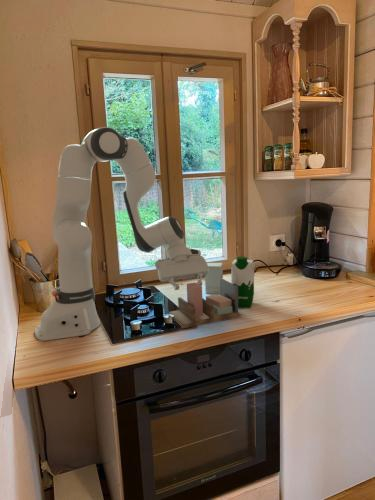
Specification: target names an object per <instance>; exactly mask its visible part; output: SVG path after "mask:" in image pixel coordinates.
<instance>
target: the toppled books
mask: <svg viewBox="0 0 375 500" xmlns="http://www.w3.org/2000/svg"><path fill="white" fill-rule="evenodd" d="M205 300H206V301H208V302H209V303H211V304H212V305H213V312H214V313H215V314H217V315H222V314H227V313H232V306H231V305H232V300H231V299H228V298H226V297H224V296H221V295H220V294H211V295H207V296H205Z"/></svg>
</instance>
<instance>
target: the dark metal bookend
mask: <svg viewBox="0 0 375 500" xmlns="http://www.w3.org/2000/svg"><path fill="white" fill-rule="evenodd" d="M219 295H221V296H224V297H226V298H228V299H231V300H232V305H231V306H232V311H233V312H235V313H238V312H239V308H238V286H236V285H234V284H232V283H231V282H229V281H228V280H226V279H220V294H219Z"/></svg>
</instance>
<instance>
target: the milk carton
mask: <svg viewBox="0 0 375 500" xmlns="http://www.w3.org/2000/svg"><path fill="white" fill-rule="evenodd" d="M230 273H231V276H230V281H231V282H230V283H232V284H234V285H236V286H238V309H239V308H242V309H251V307H252V305H253V302H254V301H253V300H254V294H255V267H254V260H253V259H248V257H247V256H238V257H236V259H233V261H232V262H231V272H230Z"/></svg>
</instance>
